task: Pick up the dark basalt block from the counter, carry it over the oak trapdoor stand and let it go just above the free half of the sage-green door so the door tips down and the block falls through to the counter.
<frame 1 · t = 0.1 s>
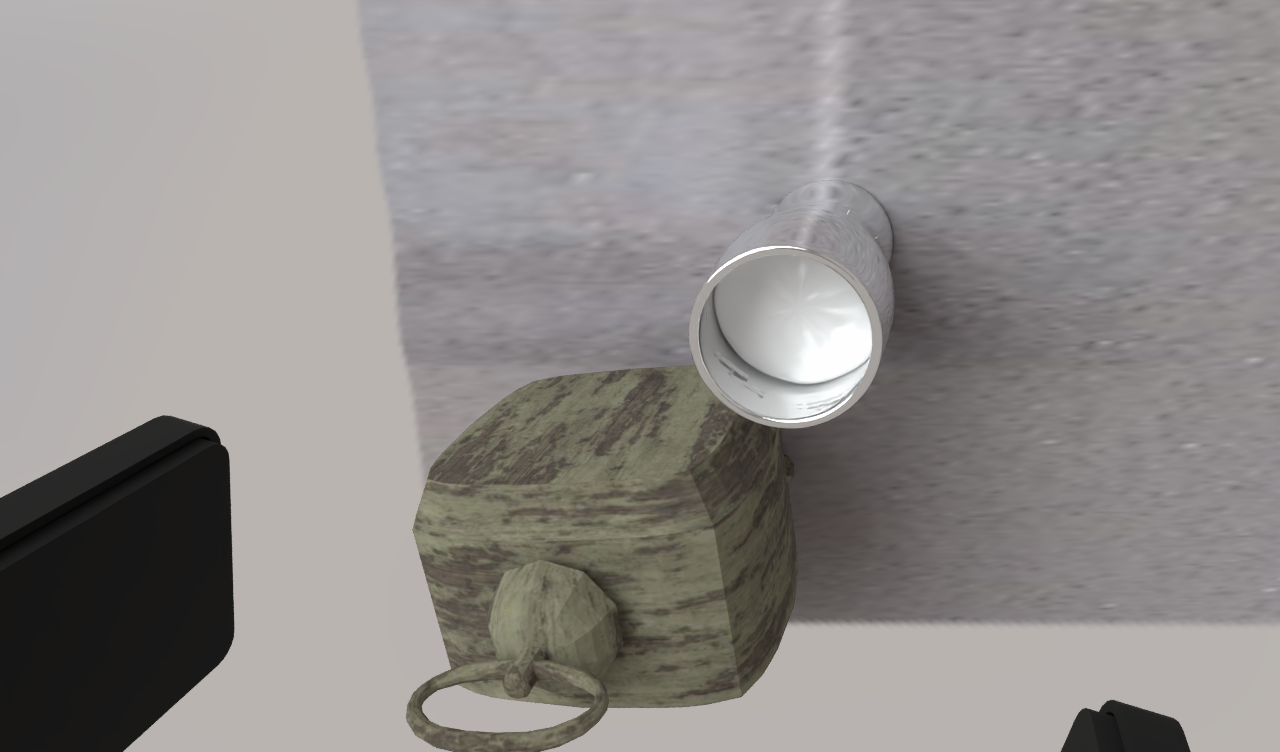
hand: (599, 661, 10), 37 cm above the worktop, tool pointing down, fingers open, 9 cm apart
tabletop clock: (678, 417, 51), on the worktop
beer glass: (828, 242, 45), on the worktop
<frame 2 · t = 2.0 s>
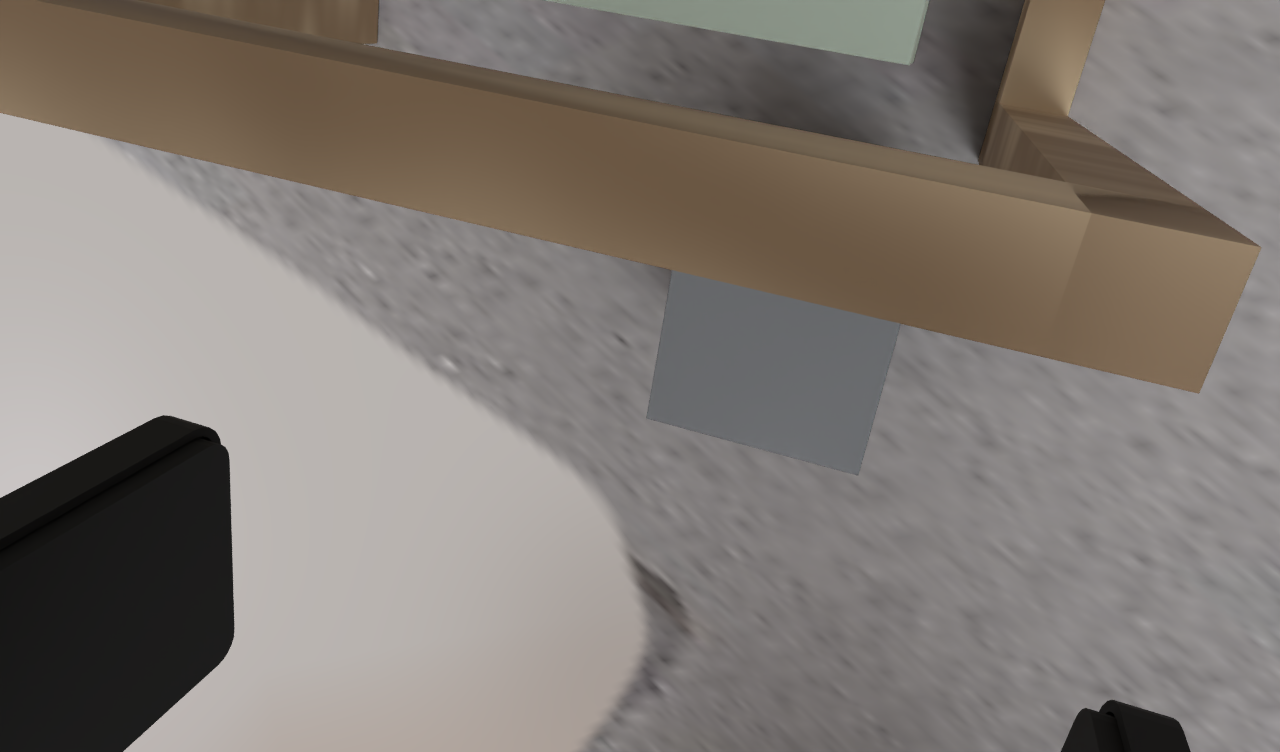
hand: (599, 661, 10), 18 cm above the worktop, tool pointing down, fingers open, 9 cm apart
stone: (806, 279, 26), on the worktop
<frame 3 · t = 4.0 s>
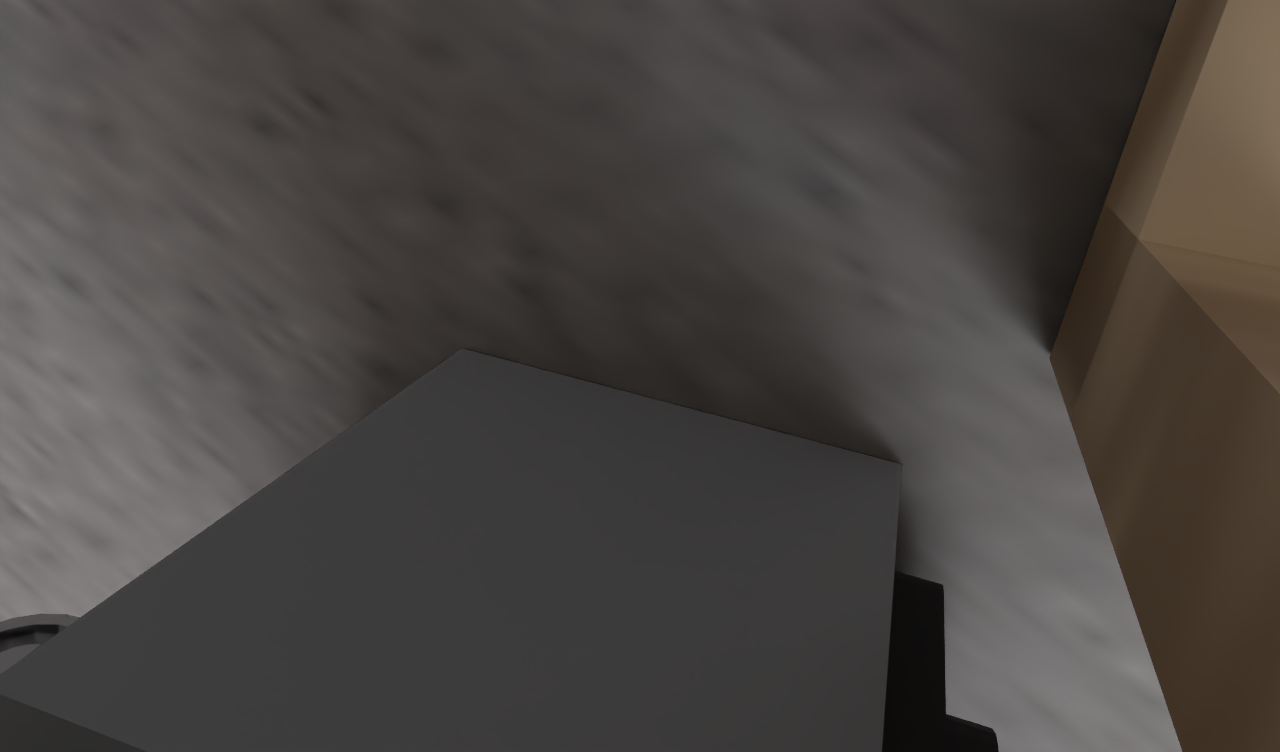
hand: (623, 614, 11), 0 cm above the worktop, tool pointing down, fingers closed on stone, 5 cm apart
stone: (636, 590, 11), on the worktop, touching gripper
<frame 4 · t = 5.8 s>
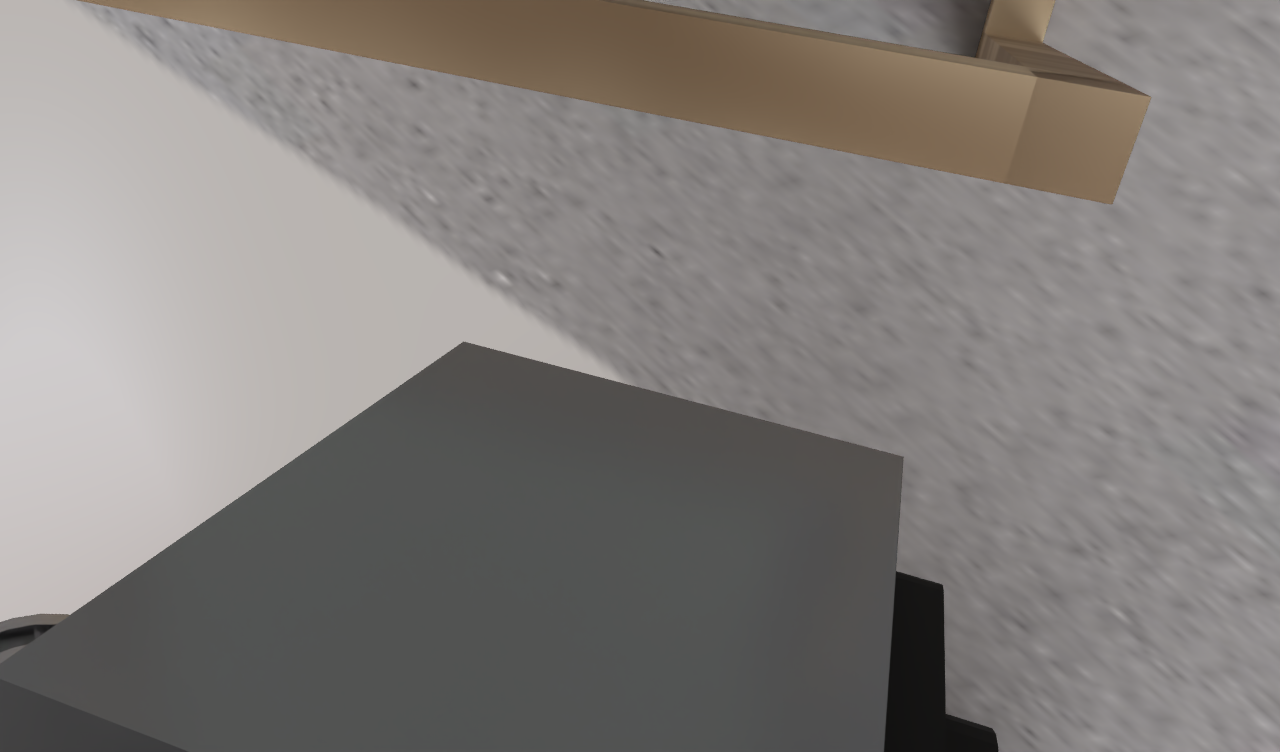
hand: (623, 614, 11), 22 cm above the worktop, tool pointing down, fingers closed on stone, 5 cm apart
stone: (638, 584, 11), point 21 cm above the worktop, touching gripper
when the fingers open (18 cm above the worktop, at t = 7.8 s): stone drops 15 cm and tips over, point 2 cm above the worktop.
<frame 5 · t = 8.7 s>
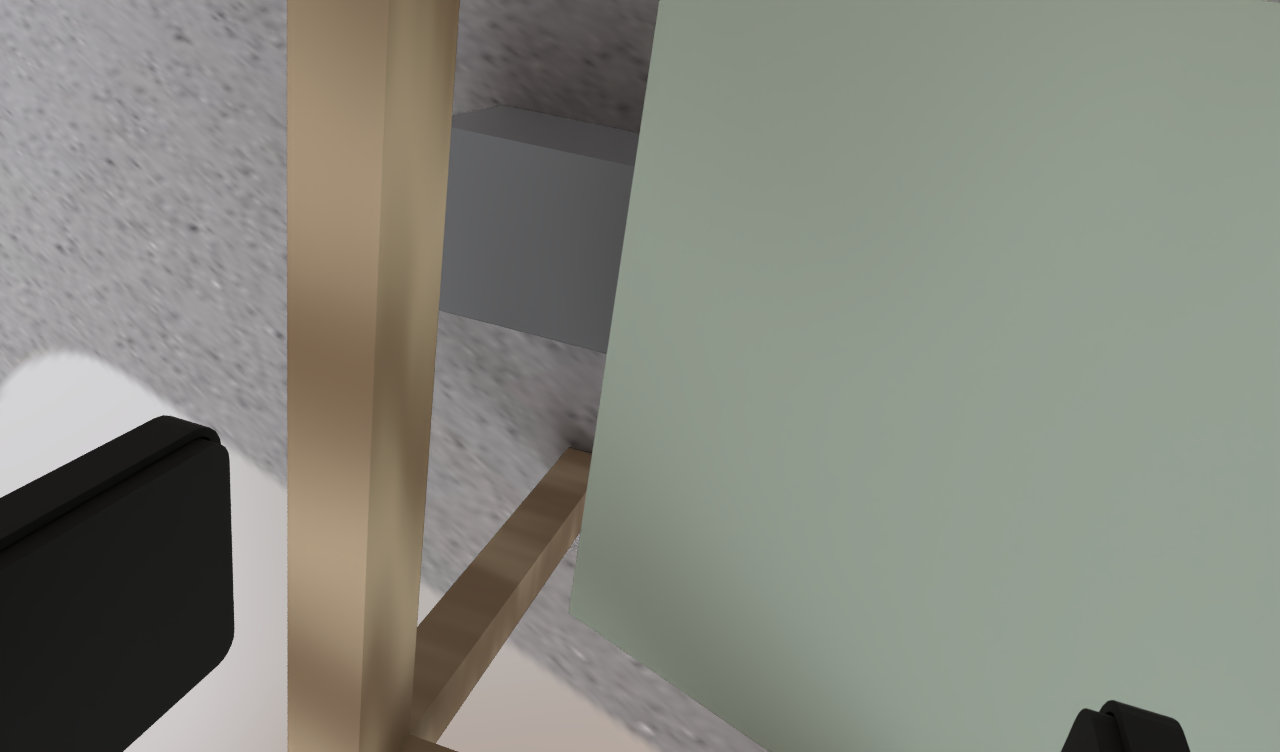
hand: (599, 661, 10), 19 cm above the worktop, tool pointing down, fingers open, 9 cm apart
stone: (656, 244, 26), point 2 cm above the worktop, tilted 90°
trapdoor: (1014, 506, 15), point 13 cm above the worktop, hinge at -23.0°
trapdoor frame: (933, 277, 26), on the worktop
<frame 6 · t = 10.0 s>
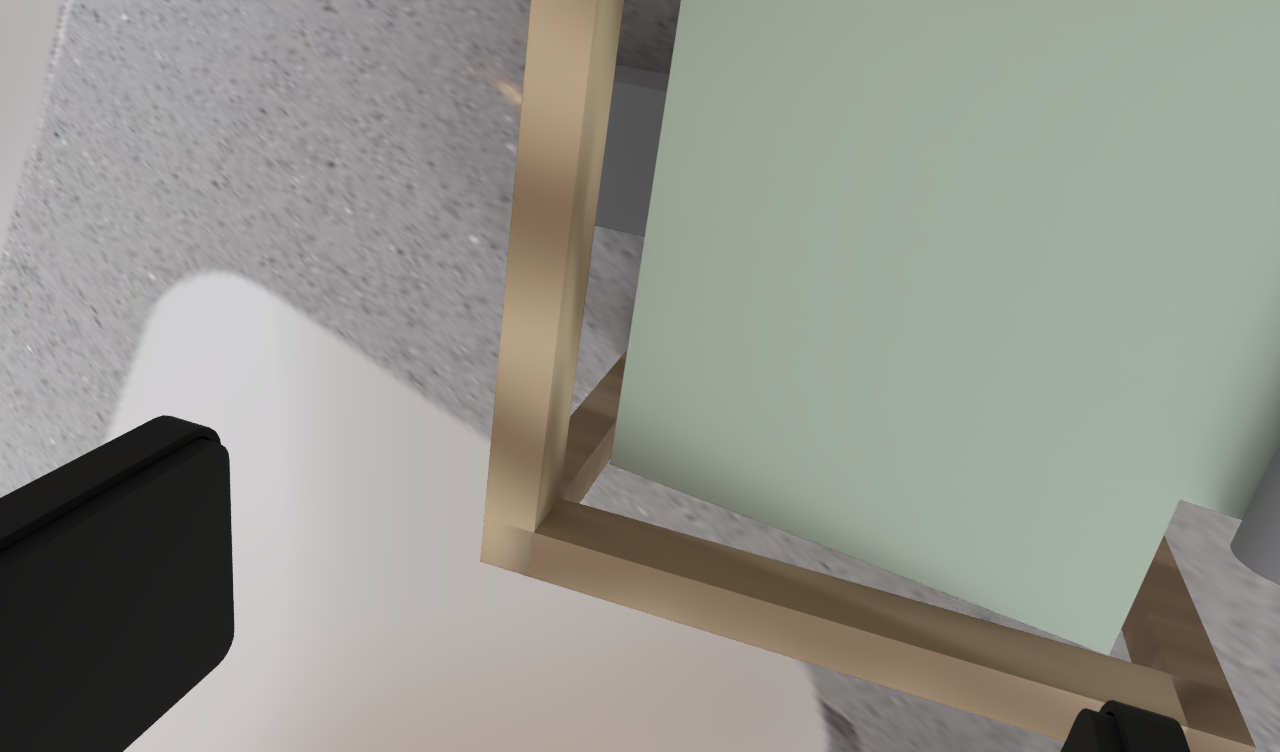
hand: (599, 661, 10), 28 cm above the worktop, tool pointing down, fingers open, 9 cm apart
stone: (717, 164, 34), point 2 cm above the worktop, tilted 90°
trapdoor: (974, 313, 22), point 14 cm above the worktop, hinge at -10.1°
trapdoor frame: (929, 189, 34), on the worktop
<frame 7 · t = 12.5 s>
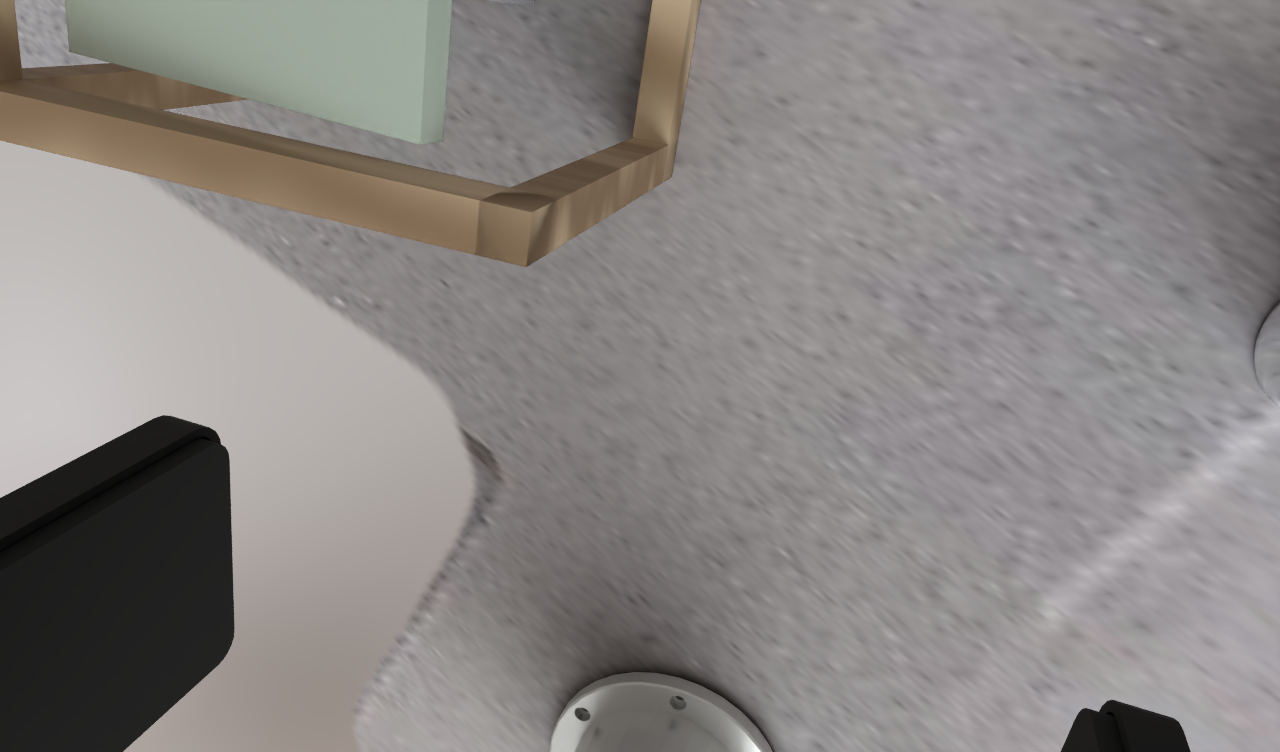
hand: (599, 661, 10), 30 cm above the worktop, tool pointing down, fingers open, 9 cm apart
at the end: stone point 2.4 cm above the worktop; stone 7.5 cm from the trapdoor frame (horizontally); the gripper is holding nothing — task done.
